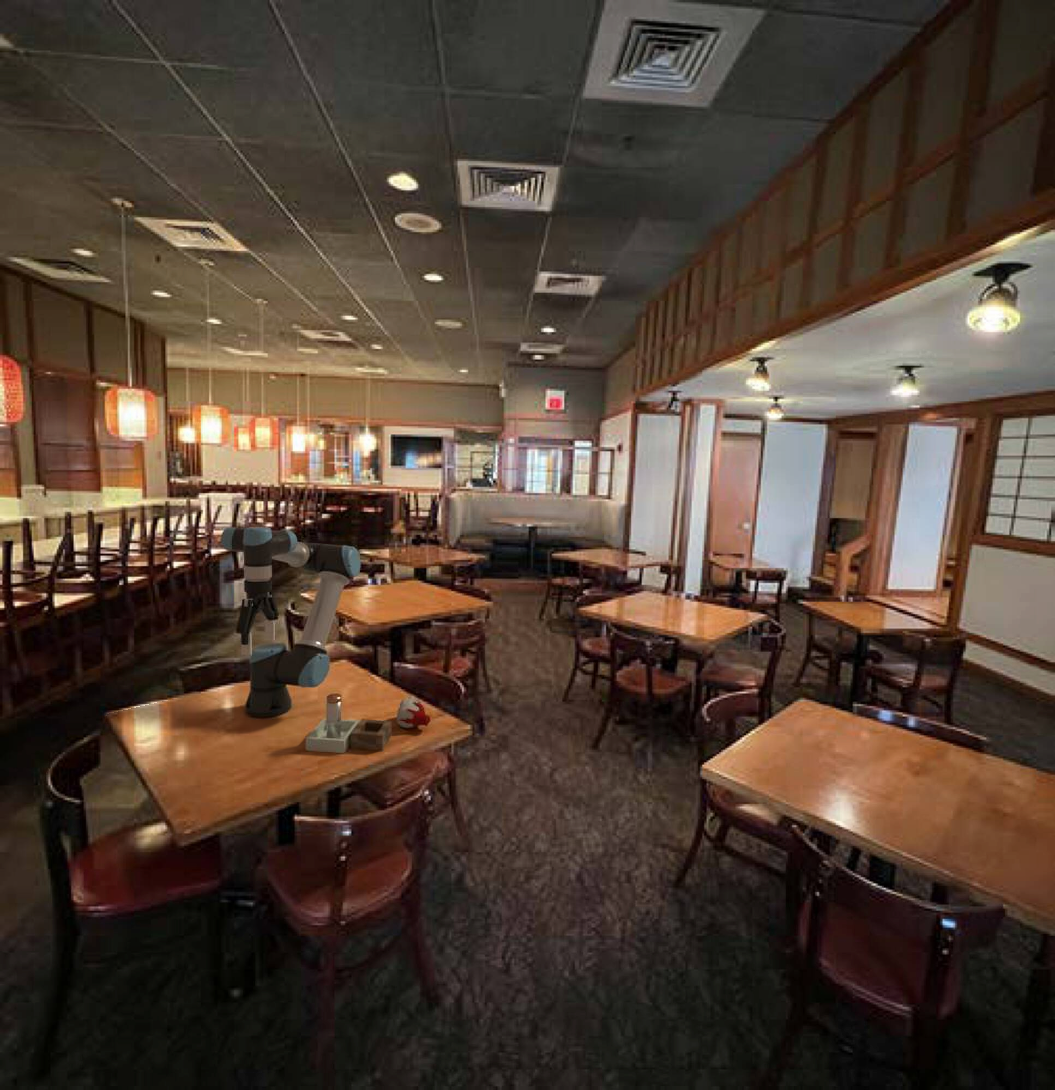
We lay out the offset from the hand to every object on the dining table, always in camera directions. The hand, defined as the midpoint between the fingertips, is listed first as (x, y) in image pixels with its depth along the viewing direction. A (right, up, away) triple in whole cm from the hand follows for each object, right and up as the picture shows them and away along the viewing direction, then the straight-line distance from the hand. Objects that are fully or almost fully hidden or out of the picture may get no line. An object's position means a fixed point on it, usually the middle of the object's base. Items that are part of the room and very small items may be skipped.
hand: (258, 647), depth 168 cm
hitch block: (+31, -32, +10) cm, 46 cm away
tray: (+19, -32, +10) cm, 38 cm away
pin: (+19, -31, +9) cm, 38 cm away
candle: (+42, -32, +23) cm, 57 cm away
